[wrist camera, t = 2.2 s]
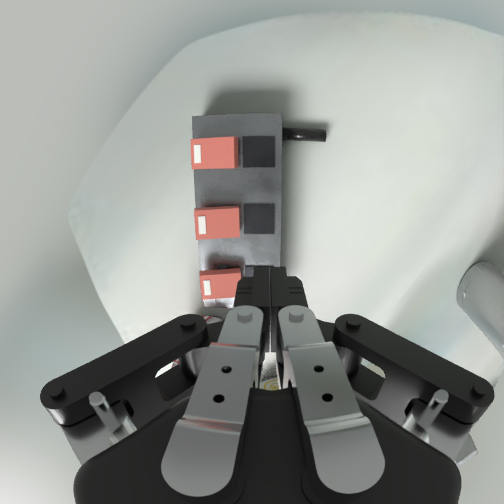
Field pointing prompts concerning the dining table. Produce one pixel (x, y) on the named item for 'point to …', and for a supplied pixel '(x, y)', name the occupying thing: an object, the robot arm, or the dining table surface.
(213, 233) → the rocker
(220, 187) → the power strip
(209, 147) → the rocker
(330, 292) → the dining table surface
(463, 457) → the skincare box
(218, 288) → the rocker
